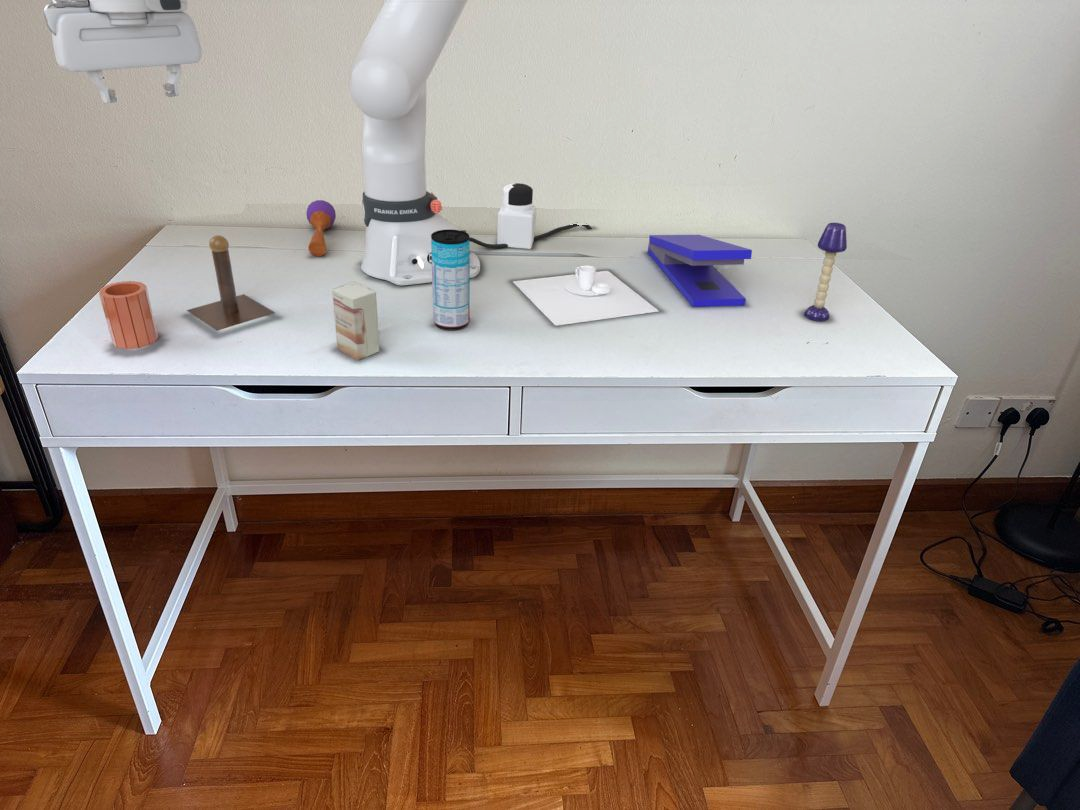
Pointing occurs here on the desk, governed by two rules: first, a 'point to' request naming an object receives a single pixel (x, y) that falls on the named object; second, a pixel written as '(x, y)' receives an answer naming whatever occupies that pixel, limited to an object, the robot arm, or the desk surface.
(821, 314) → the toy lamp
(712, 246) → the stapler
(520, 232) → the medicine bottle
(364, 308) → the white product box
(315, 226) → the kendama
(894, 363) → the desk surface
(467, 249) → the beverage can
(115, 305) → the orange slatted tube
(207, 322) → the holder
